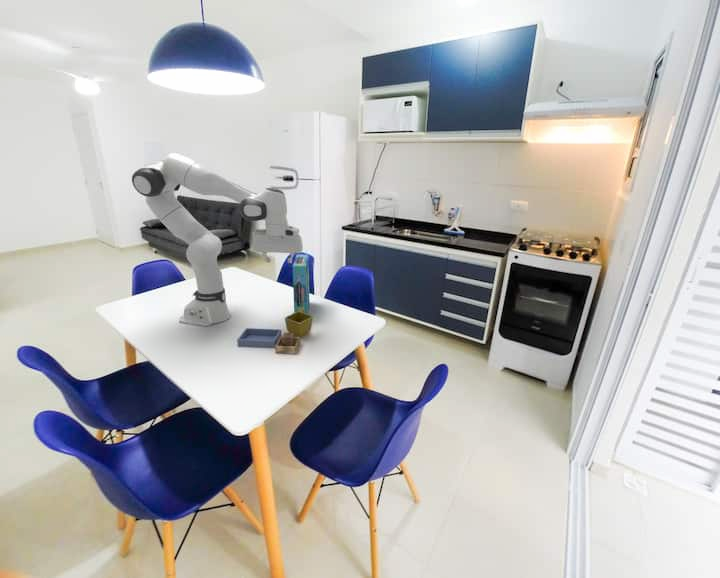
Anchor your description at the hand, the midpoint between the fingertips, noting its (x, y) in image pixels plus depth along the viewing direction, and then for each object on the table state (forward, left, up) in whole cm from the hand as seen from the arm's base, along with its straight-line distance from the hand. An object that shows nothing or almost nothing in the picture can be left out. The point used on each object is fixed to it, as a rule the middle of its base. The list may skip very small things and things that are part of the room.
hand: (278, 262), depth 139 cm
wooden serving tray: (+7, -18, -31) cm, 37 cm away
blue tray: (-6, -13, -31) cm, 34 cm away
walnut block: (+7, -18, -31) cm, 36 cm away
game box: (+5, +20, -31) cm, 38 cm away
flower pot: (+9, -6, -31) cm, 33 cm away
